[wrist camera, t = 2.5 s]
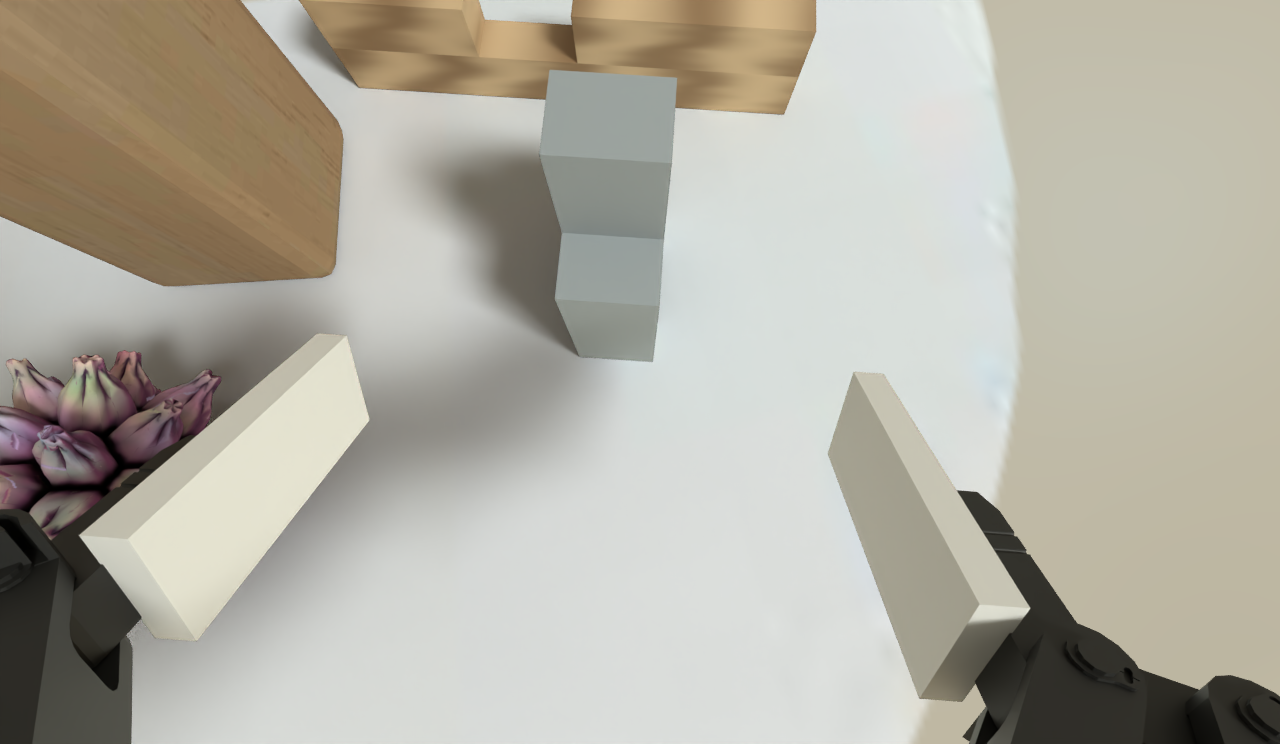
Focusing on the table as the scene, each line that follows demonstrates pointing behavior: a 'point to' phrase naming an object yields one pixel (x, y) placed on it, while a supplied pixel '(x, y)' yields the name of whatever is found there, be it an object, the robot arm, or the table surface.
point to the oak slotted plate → (577, 47)
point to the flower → (88, 433)
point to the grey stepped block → (609, 204)
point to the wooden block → (166, 140)
